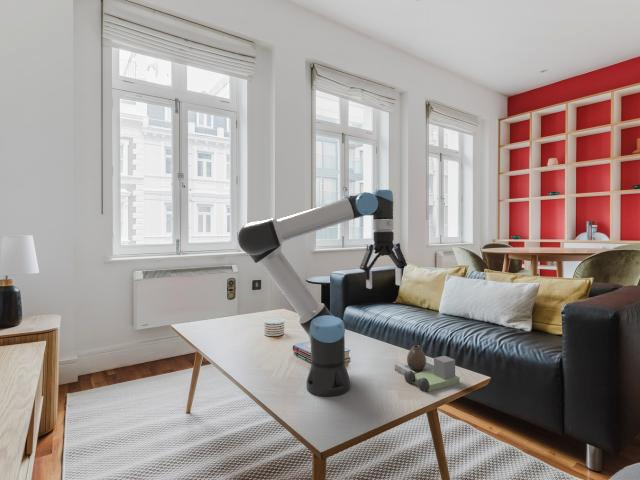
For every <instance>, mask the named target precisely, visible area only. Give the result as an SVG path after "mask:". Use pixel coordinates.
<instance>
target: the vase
mask: <svg viewBox="0 0 640 480" xmlns="http://www.w3.org/2000/svg"><path fill="white" fill-rule="evenodd" d="M426 360H427V357H426V355H425V352H424V351H423V349H422V348H421V346H420V345H418V344H417V345H416V344H415V345H412V347H411V349H410V350H409V351H408V353H407V357H406V363H407V365H408V366H409V367H410V368H411V369H412V370H414V371H421V370H422V369H424V367H425V365H426Z"/></svg>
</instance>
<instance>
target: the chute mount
mask: <svg viewBox="0 0 640 480" xmlns="http://www.w3.org/2000/svg"><path fill="white" fill-rule="evenodd" d="M432 369H434V362H431V361H429V360H427V359H426V365H425V367H424V369H422V370H421V371H414V370H412V369H411V368H410V367H409V366H408V364H406V365H402V364H400V363H394V371H395V372H397V373H398V374H401V375H402V376H404V374H405V372H407V371H412V372H413V373H414V374H416V373H420V372H424V371H428V370H432Z"/></svg>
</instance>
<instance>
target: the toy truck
mask: <svg viewBox="0 0 640 480" xmlns="http://www.w3.org/2000/svg"><path fill="white" fill-rule="evenodd" d="M433 363H434V369H432V370H428V371H424V372H420V373H416V374H414V373H413V372H412V371H407V372H405V374H404V375H403V376H404V380H405V382H406V383H407V384H414V385H416V386H417V387H418V388H419V390H420V391H421V392H426V391H427V392H432V391H435V390H439V389H442V388H447V387H449V386H453V385H457V383H458V384H461V383H460V382H461V381H460V380H461V378H460V377H459V376H457V375H456V359H454V358H453V357H452V358H451V357H449V356H446V355H442V356H436V357H434V358H433Z"/></svg>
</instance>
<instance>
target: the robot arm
mask: <svg viewBox="0 0 640 480" xmlns="http://www.w3.org/2000/svg"><path fill="white" fill-rule="evenodd" d="M394 204H395V203H394V193H393V191H392V190H391V189H376V190H375V189H374V190H373V192H372V193H371V192H369V191H368V192H367V191H366V192H361V193H358V194H355V195H351V194H350V195H344V196H342V198H341V199H339V200H337V201H333V202H331V203H326V204H323V205H321V206H317V207H315V208H312V209H308V210H304V211H302V212H298V213H296V214H292V215H289V216H285V217H282V218H279V219H276V218H274V217H272V218H269V219H266V220H260V221H256V220H255V221H251V222H248V223H246V224H244V225H243V226H242V227H241V229H240V230H239V231H238V235H237V242H238V246H239V247H240V249H241V250H242V251H243V252H244V253H245V254H247V255H249V256H250V257H251V259H252V260H253V262H254V263H255V264H257V265H261V266H262V267H263V268H264V269H265V271H266V272H267V274H268V276H269V277H270V278H271V280H273V281H274V283H275V285H276V286H277V288H278V289H279V290H280V291H281V293H282V294H283V296H284V297H285V298H286V299H287V302H288V303H289V304H290V305H291V306H292V308H293V309H294V311H295V312H296V314H297V315H298V316H299V320H298V323H299V324H300V326H301V327H302V328H303V330H304V331H305V333H306V334H307V335H308V337H309V341H310V342H309V343H310V368H309V370H308V375H307V378H306V390H307V391H308V392H309V393H311V394H313V395H316V396H321V397H334V396H335V397H336V396H340V395H341V396H342V395H343V394H345V393H347V392H349V390H351V378H350V376H349V373H348V369H347V367H346V362H345V361H346V353H345V352H346V350H345V348H346V346H345V343H346V342H345V341H346V340H345V333H346V329H345V322H344V320H343V319H341V318H340V317H338V316H335V315H333V314H332V313H331V312H330V310H329V309H328V308H327V306H326V305H325V303H324V302H323V303H322V302H318V300H317V299H316V297H315V296H314V295H313V293H312V292H311V291H310V289H309V288H308V287H307V285H306V283H304V280H302V278H301V277H300V276H299V274H298V272H296V270H295V269H294V267H293V266H292V264H291V263H290V261H289V260H288V259H287V257H286V256H285V255H284V253H283V252H282V245H283V243H284V242H286V241H287V242H288V241H289V240H292V239H295V238H299V237H302V236H305V235H308V234H312V233H314V232H317V231H321V230H323V229H327V228H330V227H333V226H336V225H340V224H343V223H346V222H349V221H351V220H355V219H359V218H362V217H364V216H372V217H373V219H372V220H373V221H372V222H373V224H372V225H373V227H372V229H373V231H374V232H373V241H374V242H373V243H374V244H371V243H369V244H366V249H365V252H364V256H363V258H362V260H361V263H360V265H359V269H360V270H362V271H363V272H364V280H366V281H365V284H366V285H365V287H366V289H368V290H371V289H373V272H372V270H371V269H372V268H373V266H374V265H375V264H376V262H377V260H378V258H379V257H382V256H387V257H389V258H390V260H391V261H392V262H393V263H394V265H395V266H396V267H395V270H394V271H395V285H396V286H399V287H400V286H402V277H404V276H403V273H404V271H403V270H404V269H405V268H406V267H407V266H408V263H407V261H406V258H405V255H404V254H403V251H402V249H401V243H400V242H394V234H395V233H394V231H393V230H394Z"/></svg>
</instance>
